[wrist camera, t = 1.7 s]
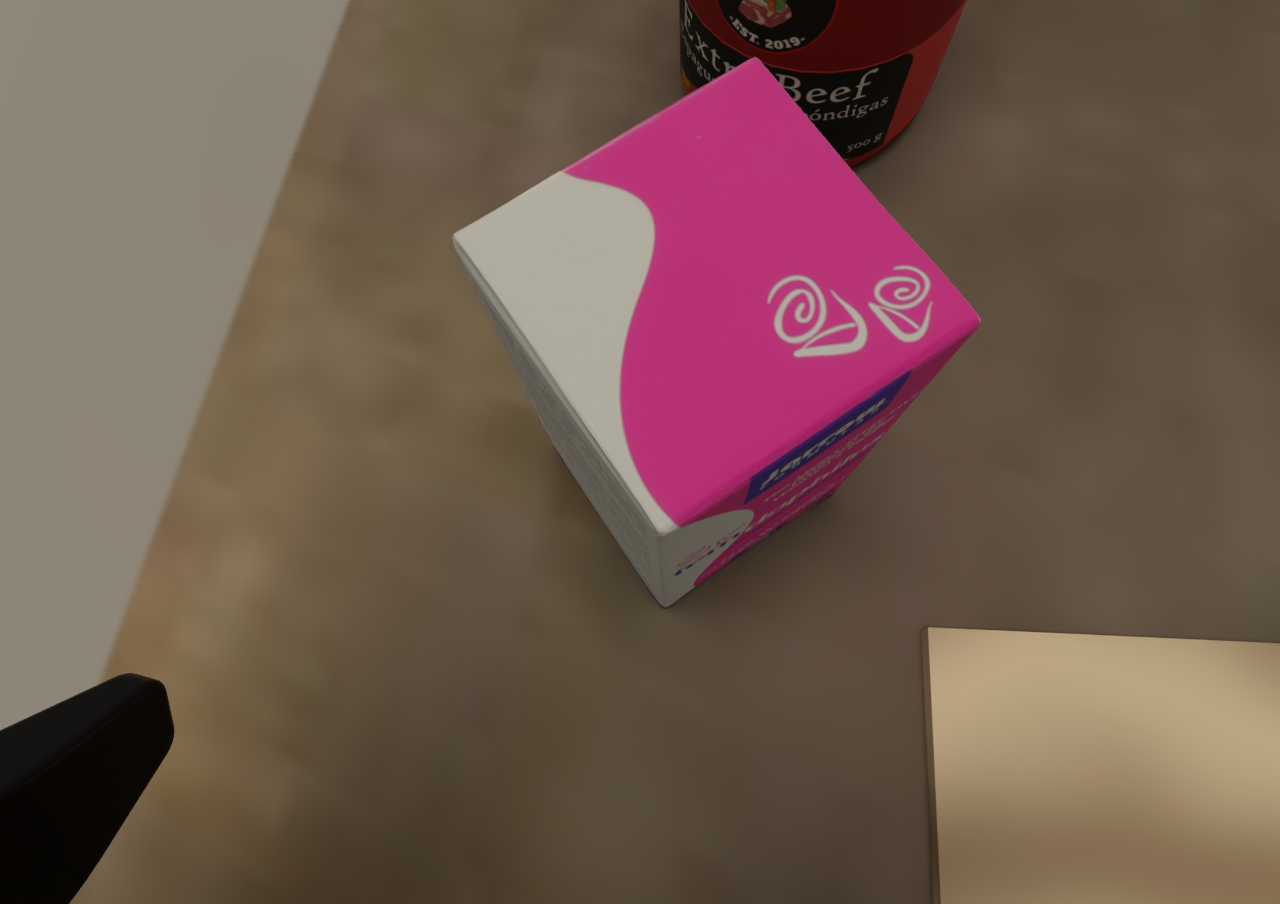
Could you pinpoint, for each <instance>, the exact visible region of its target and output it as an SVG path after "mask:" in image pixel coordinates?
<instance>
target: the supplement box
mask: <svg viewBox="0 0 1280 904" xmlns="http://www.w3.org/2000/svg"><path fill="white" fill-rule="evenodd" d="M453 245H454V247H455V250H456V252H457V254H458V256H459V258H460V260H461V262H462V264H463V266H464V268H465V270H466V272H467V274H468V276H469V278H470V280H471V282H472V284H473V286H474V288H475V290H476V292H477V294H478V296H479V298H480V300H481V302H482V304H483V306H484V308H485V310H486V312H487V314H488V316H489V318H490V320H491V322H492V324H493V326H494V328H495V330H496V332H497V334H498V336H499V338H500V340H501V342H502V344H503V346H504V348H505V350H506V352H507V354H508V356H509V358H510V360H511V362H512V364H513V366H514V368H515V370H516V372H517V374H518V376H519V378H520V380H521V382H522V384H523V387H524V389H525V391H526V393H527V395H528V397H529V399H530V401H531V403H532V405H533V407H534V409H535V411H536V413H537V415H538V417H539V419H540V421H541V423H542V425H543V427H544V428H545V430H546V432H547V435H548V436H549V438H550V440H551V442H552V443H553V445H554V447H555V449H556V450H557V452H558V453H559V455H560V456H561V458H562V459H563V461H564V463H565V464H566V466H567V467H568V469H569V470H570V472H571V473H572V475H573V476H574V478H575V479H576V481H577V483H578V484H579V486H580V487H581V489H582V490H583V492H584V493H585V495H586V496H587V498H588V499H589V501H590V503H591V504H592V506H593V507H594V509H595V510H596V512H597V513H598V515H599V516H600V518H601V519H602V521H603V522H604V524H605V525H606V527H607V528H608V530H609V531H610V533H611V534H612V536H613V537H614V539H615V540H616V542H617V543H618V545H619V546H620V548H621V549H622V551H623V552H624V554H625V555H626V557H627V558H628V560H629V562H630V563H631V565H632V566H633V568H634V569H635V570H636V572H637V573H638V575H639V576H640V578H641V579H642V581H643V582H644V584H645V585H646V587H647V588H648V590H649V591H650V593H651V594H652V596H653V597H654V598H655V600H656V601H657V603H658V604H659V605H660V606H661V607H662V608H668V607H670V606H671V605H672V604H674V603H675V602H676V601H678V600H679V599H680V598H682V597H683V596H684V595H685V594H687V593H688V592H689V591H691V590H692V589H693V588H694V587H696V586H697V585H698V584H700V583H701V582H702V581H704V580H705V579H707V578H708V577H709V576H711V575H712V574H714V573H715V572H716V571H718V570H719V569H721V568H722V567H724V566H725V565H727V564H728V563H729V562H731V561H732V560H734V559H735V558H737V557H738V556H740V555H741V554H743V553H744V552H745V551H747V550H748V549H750V548H751V547H753V546H754V545H756V544H757V543H759V542H760V541H761V540H763V539H764V538H766V537H767V536H769V535H770V534H772V533H773V532H775V531H776V530H778V529H779V528H781V527H782V526H784V525H785V524H786V523H788V522H789V521H791V520H792V519H794V518H795V517H797V516H798V515H800V514H802V513H803V512H805V511H807V510H808V509H810V508H812V507H814V506H815V505H817V504H818V503H820V502H821V501H823V500H824V499H826V498H828V497H829V496H831V495H832V494H833V493H834V492H835V490H836V489H837V488H838V487H839V486H840V485H841V483H842V482H843V481H844V480H845V479H846V478H847V477H848V476H849V474H850V473H851V472H852V471H853V470H854V469H855V468H856V467H857V465H858V464H859V463H860V462H861V461H862V460H863V458H864V457H865V456H866V455H867V454H868V453H869V451H870V450H871V449H872V448H873V447H874V446H875V445H876V444H877V442H878V441H879V440H880V439H881V438H882V437H883V435H884V434H885V433H886V432H887V431H888V430H889V429H890V427H891V426H892V425H893V424H894V423H895V421H896V420H897V419H898V418H899V417H900V416H901V414H902V413H903V412H904V411H905V410H906V409H907V408H908V407H909V405H910V404H911V403H912V402H913V401H914V400H915V398H916V397H917V396H918V395H919V394H920V392H921V391H922V390H923V389H924V388H925V387H926V386H927V385H928V384H929V382H930V381H931V380H932V379H933V378H934V377H935V376H936V374H937V373H938V372H939V371H940V370H941V369H942V367H943V366H944V365H945V364H946V363H947V362H948V361H949V359H950V358H951V357H952V356H953V355H954V354H955V353H956V351H957V350H958V349H959V348H960V347H961V346H962V345H963V344H964V342H965V341H966V340H967V339H968V338H969V337H970V336H971V335H972V334H973V333H974V332H975V331H976V330H977V329H978V327H979V325H980V323H981V319H980V317H979V316H978V314H977V313H976V312H975V311H974V309H973V308H972V307H971V305H970V304H969V303H968V302H967V300H966V299H965V298H964V297H963V296H962V294H961V293H960V292H959V291H958V290H957V288H956V287H955V286H954V285H953V284H952V283H951V282H950V280H949V279H948V278H947V277H946V276H945V275H944V274H943V273H942V271H941V270H940V269H939V268H938V267H937V265H936V264H935V263H934V262H933V261H932V260H931V259H930V258H929V256H928V255H927V254H926V253H925V252H924V251H923V250H922V249H921V248H920V247H919V245H918V244H917V243H916V242H915V241H914V240H913V239H912V238H911V237H910V236H909V235H908V234H907V232H906V231H905V230H904V229H903V228H902V227H901V226H900V225H899V224H898V223H897V222H896V221H895V220H894V218H893V217H892V216H891V215H890V214H889V213H888V212H887V210H886V209H885V208H884V207H883V206H882V205H881V204H880V202H879V201H878V200H877V199H876V198H875V197H874V196H873V194H872V193H871V192H870V191H869V190H868V189H867V187H866V186H865V185H864V184H863V183H862V182H861V180H860V179H859V178H858V177H857V176H856V174H855V173H854V172H853V171H852V170H851V168H850V167H849V166H848V165H847V164H846V162H845V161H844V160H843V159H842V158H841V156H840V155H839V154H838V153H837V152H836V150H835V149H834V148H833V147H832V146H831V144H830V143H829V142H828V141H827V140H826V138H825V137H824V136H823V135H822V134H821V133H820V131H819V130H818V129H817V128H816V127H815V125H814V124H813V123H812V122H811V121H810V120H809V118H808V117H807V116H806V115H805V114H804V112H803V111H802V110H801V109H800V107H799V106H798V105H797V104H796V103H795V101H794V100H793V99H792V98H791V97H790V95H789V94H788V93H787V92H786V90H785V89H784V88H783V87H782V86H781V85H780V83H779V82H778V81H777V80H776V79H775V77H774V76H773V75H772V74H771V73H770V72H769V70H768V69H767V68H766V67H765V66H764V64H763V63H762V62H761V61H760V59H758V58H756V57H754V58H751V59H749V60H747V61H746V62H744V63H742V64H740V65H739V66H737V67H735V68H733V69H732V70H730V71H728V72H727V73H725V74H723V75H721V76H719V77H718V78H716V79H714V80H712V81H711V82H709V83H707V84H705V85H704V86H702V87H700V88H698V89H697V90H695V91H693V92H691V93H690V94H688V95H686V96H684V97H683V98H681V99H680V100H678V101H676V102H675V103H673V104H672V105H670V106H668V107H666V108H665V109H663V110H661V111H660V112H658V113H656V114H654V115H653V116H651V117H649V118H647V119H646V120H644V121H642V122H641V123H639V124H637V125H635V126H634V127H632V128H630V129H629V130H627V131H625V132H624V133H622V134H620V135H619V136H617V137H615V138H614V139H612V140H610V141H609V142H607V143H606V144H604V145H602V146H601V147H599V148H598V149H596V150H594V151H593V152H591V153H589V154H588V155H586V156H584V157H582V158H581V159H579V160H577V161H576V162H574V163H572V164H571V165H569V166H567V167H566V168H564V169H562V170H560V171H559V172H557V173H555V174H554V175H552V176H550V177H549V178H547V179H545V180H544V181H542V182H540V183H539V184H537V185H536V186H534V187H532V188H531V189H529V190H527V191H526V192H524V193H522V194H521V195H519V196H518V197H516V198H514V199H513V200H511V201H510V202H508V203H506V204H505V205H503V206H501V207H500V208H498V209H496V210H495V211H493V212H491V213H489V214H488V215H486V216H484V217H483V218H481V219H479V220H477V221H475V222H474V223H472V224H470V225H468V226H467V227H465V228H463V229H461V230H459V231H458V232H456V233H454V235H453Z"/></svg>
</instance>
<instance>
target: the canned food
mask: <svg viewBox="0 0 1280 904" xmlns="http://www.w3.org/2000/svg"><path fill="white" fill-rule="evenodd" d="M966 1H967V0H679V15H680V66H681V76H682V85H683V88H684V91H685V94H686V95H688V94H690V93H691V92H693V91H695V90H697V89H698V88H700V87H702V86H704V85H705V84H707V83H709V82H711V81H712V80H714V79H716V78H718V77H719V76H721V75H723V74H725V73H727V72H728V71H730V70H732V69H733V68H735V67H737V66H739V65H740V64H742V63H744V62H746V61H747V60H749V59H751V58H754V57H756V58H758V59H760V61H761V62H762V63H763V64H764V66H765V67H766V68H767V69H768V70H769V72H770V73H771V74H772V75H773V76H774V77H775V79H776V80H777V81H778V82H779V83H780V85H781V86H782V87H783V88H784V89H785V90H786V92H787V93H788V94H789V95H790V97H791V98H792V99H793V100H794V101H795V103H796V104H797V105H798V106H799V107H800V109H801V110H802V111H803V112H804V114H805V115H806V116H807V117H808V118H809V120H810V121H811V122H812V123H813V124H814V125H815V127H816V128H817V129H818V130H819V131H820V133H821V134H822V135H823V136H824V137H825V138H826V140H827V141H828V142H829V143H830V144H831V146H832V147H833V148H834V149H835V150H836V152H837V153H838V154H839V155H840V156H841V158H842V159H843V160H844V161H845V162H846V164H847V165H848V166H849V167H851V166H854V165H856V164H858V163H860V162H862V161H863V160H865V159H867V158H869V157H871V156H873V155H874V154H876V153H877V152H878V151H880V150H881V149H882V148H883V147H885V146H886V145H887V144H889V143H890V142H891V141H892V140H893V139H894V138H895V137H896V136H897V135H898V134H899V133H900V132H901V131H902V130H903V129H904V127H905V126H906V125H907V124H908V123H909V122H910V121H911V119H912V118H913V117H914V116H915V115H916V114H917V112H918V111H919V109H920V108H921V106H922V104H923V102H924V100H925V98H926V97H927V95H928V93H929V91H930V88H931V86H932V84H933V81H934V79H935V76H936V74H937V71H938V69H939V67H940V64H941V62H942V59H943V57H944V54H945V52H946V49H947V47H948V45H949V42H950V40H951V37H952V35H953V32H954V30H955V27H956V25H957V23H958V20H959V18H960V15H961V13H962V10H963V8H964V5H965V3H966Z"/></svg>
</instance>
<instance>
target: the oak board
mask: <svg viewBox="0 0 1280 904" xmlns="http://www.w3.org/2000/svg"><path fill="white" fill-rule="evenodd" d="M921 632H922V655H923V678H924V701H925V724H926V746H927V769H928V792H929V815H930V837H931V860H932V883H933V904H1280V643H1259V642H1237V641H1216V640H1194V639H1172V638H1150V637H1128V636H1106V635H1085V634H1063V633H1041V632H1019V631H997V630H975V629H953V628H932V627H927V628H924V629H921Z"/></svg>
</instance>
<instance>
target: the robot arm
mask: <svg viewBox="0 0 1280 904" xmlns="http://www.w3.org/2000/svg"><path fill="white" fill-rule="evenodd" d="M173 738H174V724H173V720H172V715H171V710H170V706H169V701H168V696H167V692H166V688H165V686H164V684H162V683H161V682H160V681H159V680H156V679H152V678H149V677H145V676H141V675H138V674H132V673H126V674H122V675H119V676H116V677H114V678H112V679H110V680H107V681H105V682H103V683H101V684H99V685H97V686H95V687H92V688H90V689H88V690H86V691H84V692H82V693H80V694H78V695H75V696H73V697H71V698H69V699H67V700H64V701H62V702H60V703H58V704H56V705H54V706H52V707H50V708H48V709H45V710H43V711H41V712H39V713H37V714H34V715H32V716H30V717H28V718H26V719H24V720H22V721H20V722H17V723H15V724H13V725H11V726H9V727H7V728H4V729H2V730H0V904H69V903H70V902H71V900H72V899H73V898H74V896H75V895H76V894H77V892H78V891H79V889H80V888H81V887H82V885H83V884H84V883H85V881H86V880H87V878H88V877H89V876H90V874H91V873H92V871H93V870H94V868H95V867H96V865H97V864H98V862H99V861H100V859H101V858H102V856H103V854H104V853H105V851H106V850H107V848H108V847H109V845H110V843H111V842H112V840H113V839H114V837H115V835H116V834H117V832H118V831H119V829H120V828H121V826H122V824H123V823H124V821H125V820H126V818H127V816H128V815H129V813H130V812H131V810H132V809H133V807H134V805H135V804H136V802H137V801H138V799H139V797H140V796H141V794H142V793H143V791H144V790H145V788H146V786H147V785H148V783H149V782H150V780H151V778H152V777H153V775H154V774H155V772H156V771H157V769H158V767H159V766H160V764H161V763H162V761H163V760H164V758H165V756H166V755H167V753H168V751H169V749H170V747H171V745H172V742H173Z"/></svg>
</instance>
